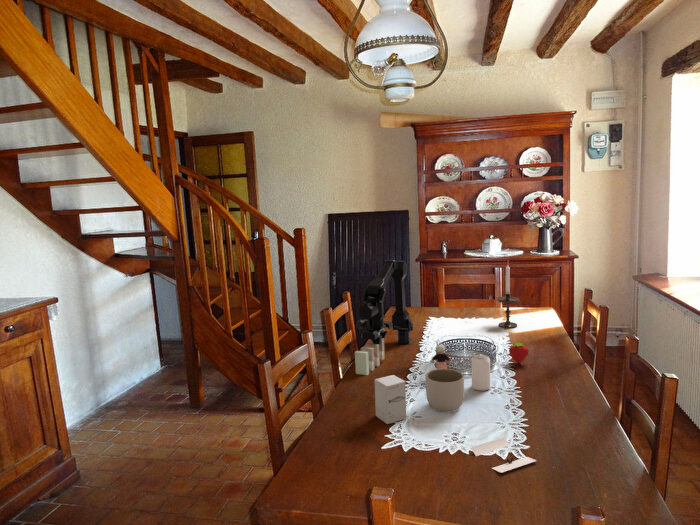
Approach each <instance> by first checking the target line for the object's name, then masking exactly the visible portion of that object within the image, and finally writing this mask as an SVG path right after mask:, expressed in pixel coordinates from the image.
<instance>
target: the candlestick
mask: <svg viewBox="0 0 700 525" xmlns="http://www.w3.org/2000/svg"><path fill="white" fill-rule="evenodd" d="M509 262H510V259H508V258H507V261H506V264H507V265H506V267H505V292H504V293H503V294H504V296H499V297H496V302H498V303H503V304H506V310H505V311H504V313H505V314H506V315H505V318H506V321H503V322H502V321H501V322H499V323H498V327H499V328H502V329H516V328H517V327H518V323H516V322H512V321H510V318H511V315H510V314H511V310H510V304H515V303H519V302H520V298H519V297H517V296H511V295H512V294H513V293H512V292H511V291H510V290H511V281H510V280H511V277H510V275H511V272H510V271H511V268H510V266H509Z"/></svg>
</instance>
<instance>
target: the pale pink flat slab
mask: <svg viewBox="0 0 700 525" xmlns="http://www.w3.org/2000/svg"><path fill="white" fill-rule="evenodd" d="M510 445H511V444H510V443H509V441H508V440H507V439H506V437H501V438H497V439H495V440H491V441H487V442H484V443H481V444H478V445H475V446H471V447H470V449H471V450H472V452H473V454H474V455H475V457H478V456H482V455H484V454H488V453H490V452H494V451H496V450H500V449H503V448H506V447H508V446H509V447H510ZM534 462H537V460H536V459H534V458H531V457H529V456H526V457H523V458H519V459H515V460H514V458H513V457H511V458H510V459H509V458H506V463H503V464H501V465H500V464H499V465H497V466H495V467H491V469H492V470H495V471H496V472H498V473H502V474H503V473H505V472H507V471H512V470H513V469H517V468H519V467H522V466H526V465H529V464H531V463H534Z"/></svg>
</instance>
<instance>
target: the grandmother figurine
mask: <svg viewBox="0 0 700 525" xmlns="http://www.w3.org/2000/svg"><path fill="white" fill-rule="evenodd" d="M436 352H437V354H435V355H433V356H432V358H431V360H430V363H431V364H434V362H435V361H436V369H448V367H447V363H448V365H449V366H451V365H452V360H451V359H450V358H449V356H448V355H447V354H444V353H445V352H446V346H445V345H444V344H438V346H437V347H436Z"/></svg>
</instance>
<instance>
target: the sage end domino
mask: <svg viewBox="0 0 700 525" xmlns="http://www.w3.org/2000/svg"><path fill="white" fill-rule="evenodd" d="M354 363H355V374H356V375H360V376H361V375H363V376H369V374H370V371H369V358H368V352H365V351H361V350H355V352H354Z"/></svg>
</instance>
